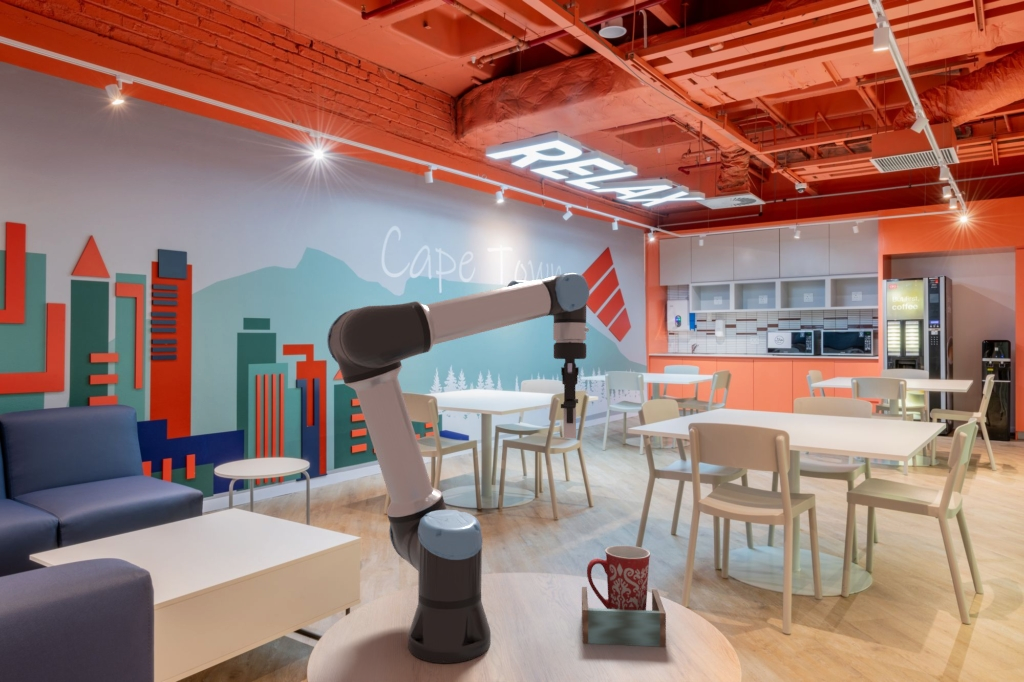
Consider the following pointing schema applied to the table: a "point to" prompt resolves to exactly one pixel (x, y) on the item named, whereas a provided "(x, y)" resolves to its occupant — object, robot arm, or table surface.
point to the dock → (624, 624)
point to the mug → (624, 577)
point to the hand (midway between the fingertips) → (569, 434)
